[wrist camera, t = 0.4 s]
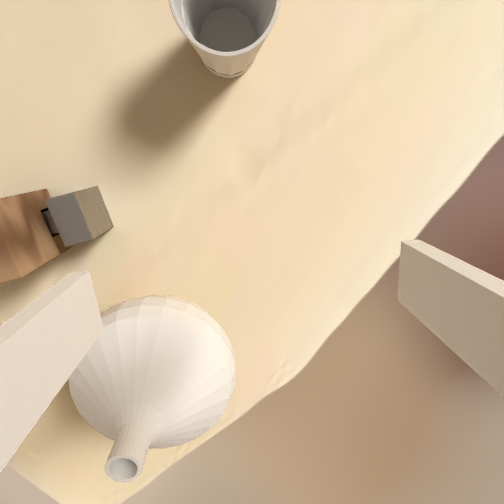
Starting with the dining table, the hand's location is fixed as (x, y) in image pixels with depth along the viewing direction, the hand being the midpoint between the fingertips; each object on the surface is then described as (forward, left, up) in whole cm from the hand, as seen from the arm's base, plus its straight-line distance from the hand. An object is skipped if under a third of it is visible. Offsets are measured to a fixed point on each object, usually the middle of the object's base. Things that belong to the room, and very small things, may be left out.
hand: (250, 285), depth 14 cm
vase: (+16, -14, -27) cm, 34 cm away
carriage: (-3, -24, -27) cm, 36 cm away
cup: (-16, +3, -27) cm, 31 cm away
